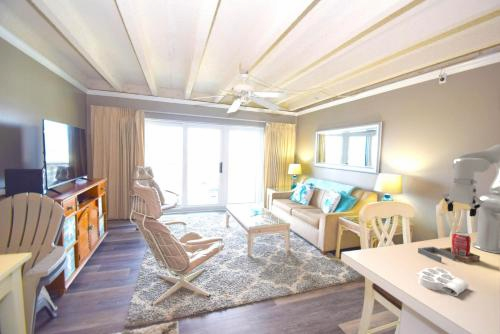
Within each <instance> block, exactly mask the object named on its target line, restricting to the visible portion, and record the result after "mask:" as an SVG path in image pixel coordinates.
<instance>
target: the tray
mask: <svg viewBox="0 0 500 334" xmlns="http://www.w3.org/2000/svg"><path fill="white" fill-rule="evenodd" d="M439 249H441V250H443V251H446V252H448V253H451V254H453V255H456V256H455V260H454V261H458V262H461V263H463V264H466V263H474V262H480V260H481V259H480V258H481V256H480V255H479V254H476V253H472V252H470V254H469V256H467V257H462V256H460V255H457V254H454V253H452V252H451V246H449V247H440V248H439Z"/></svg>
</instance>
